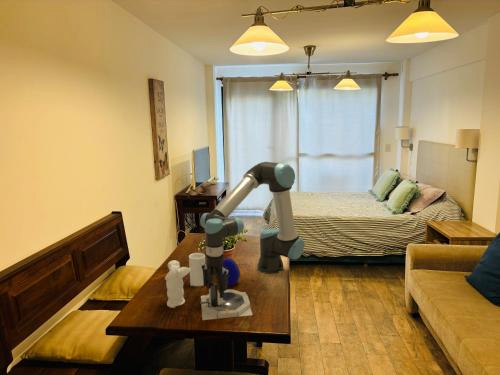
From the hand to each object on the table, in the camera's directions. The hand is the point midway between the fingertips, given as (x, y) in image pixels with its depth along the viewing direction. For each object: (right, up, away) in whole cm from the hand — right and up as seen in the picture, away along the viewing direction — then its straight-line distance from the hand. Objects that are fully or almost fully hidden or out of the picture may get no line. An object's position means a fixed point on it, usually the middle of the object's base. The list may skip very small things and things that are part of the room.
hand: (215, 302), depth 165 cm
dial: (+4, -3, +4) cm, 6 cm away
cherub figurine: (-18, -3, +8) cm, 20 cm away
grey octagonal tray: (+4, -4, +5) cm, 7 cm away
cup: (-12, 0, +28) cm, 30 cm away
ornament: (+4, 0, +27) cm, 27 cm away
